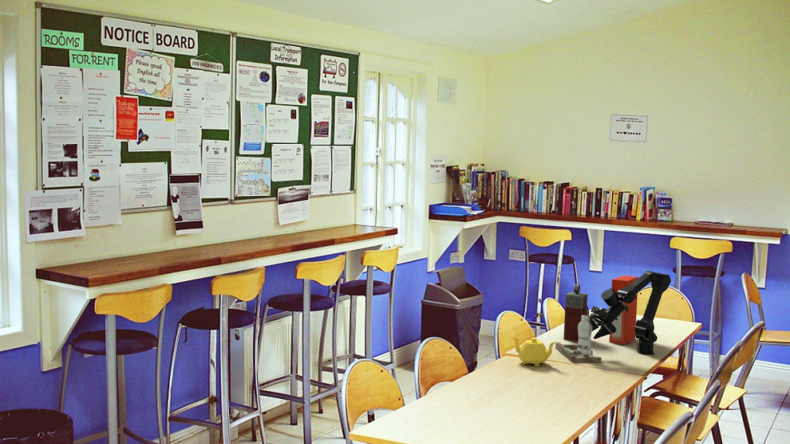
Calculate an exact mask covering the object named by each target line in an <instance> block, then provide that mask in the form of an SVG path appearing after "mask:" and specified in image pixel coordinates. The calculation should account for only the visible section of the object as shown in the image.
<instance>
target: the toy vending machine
mask: <svg viewBox="0 0 790 444" xmlns="http://www.w3.org/2000/svg"><path fill="white" fill-rule="evenodd" d="M564 299H565V301H564V302H565V303H564V305H565V306H564V318H563V319H564V321H563V322H564V323H563V340H564V341H570V342H571V341H573V342H577V343H578V341H579V334H578V324H579V323H580V322H581V321H582V319H581V318H582V315H590V310H589V306H588V300H589V299H588V293H587V292H581V285H580V284H576V283H575V284H574V285H573V291H569V292H568V293H566V294H565V298H564Z"/></svg>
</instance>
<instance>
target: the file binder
mask: <svg viewBox="0 0 790 444" xmlns="http://www.w3.org/2000/svg"><path fill="white" fill-rule="evenodd" d="M638 278H639V276H631V275H621V276H619V277H616V278H612V279H611V288H613V289H614V290H615V292H617V291H618V290H620V289H621V288H623V287H627V286H629V285H631V284H632V283H633V282H635V281H636V280H637V279H638ZM638 294H639V292H638V293H637V296H636V298H635V299H634V301H633V302H632V303H630V304H629V303H625V302H623V304H624V305H627V306H628V312H626V311H623V312H622V313H621V314H620V315H619V316H618V317H617V319H618V320H617V321H616V320H614V321H613V322H612V324H613V325H614V326H615V327H616V328H617V329H616V332H615V333H614V334H613V333H611V334H609V340H608V343H611V344H616V345H617V344H618V345H623V346H624V345H626V344H627V343H630V342H631V341H633V340H635V339H636V335H635V332H634V330H635V328H634V327H635V325H636V321H637V317H638V316H637V314H638V313H637V312H638V311H637V310H638V296H639V295H638Z"/></svg>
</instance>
